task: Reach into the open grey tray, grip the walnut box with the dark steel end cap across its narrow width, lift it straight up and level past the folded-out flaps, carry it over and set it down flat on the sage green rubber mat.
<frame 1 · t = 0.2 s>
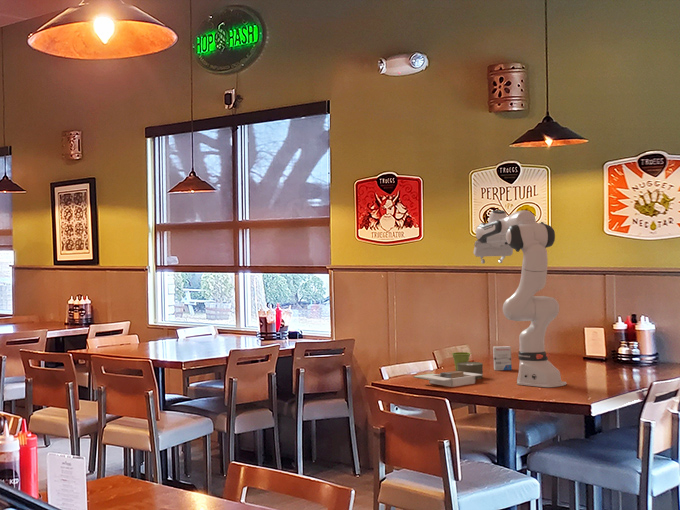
hand: (491, 262, 420), 54 cm above the table, tool tilted 30°, fingers open, 8 cm apart
grey tray: (452, 383, 368), on the table
plant pot: (461, 370, 409), on the table
ink box: (502, 370, 408), on the table
sage mat: (431, 377, 388), on the table
walnut box: (452, 377, 368), in the grey tray
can: (470, 378, 384), on the table
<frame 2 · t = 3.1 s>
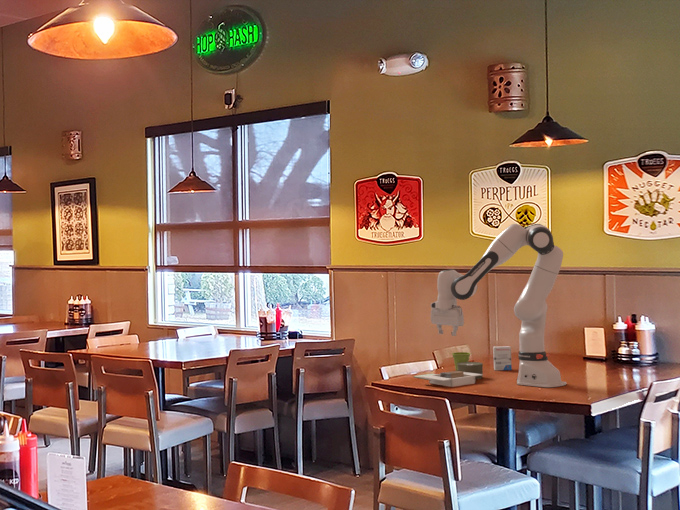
hand: (447, 334, 370), 22 cm above the table, tool pointing down, fingers open, 8 cm apart
nothing on the table moved.
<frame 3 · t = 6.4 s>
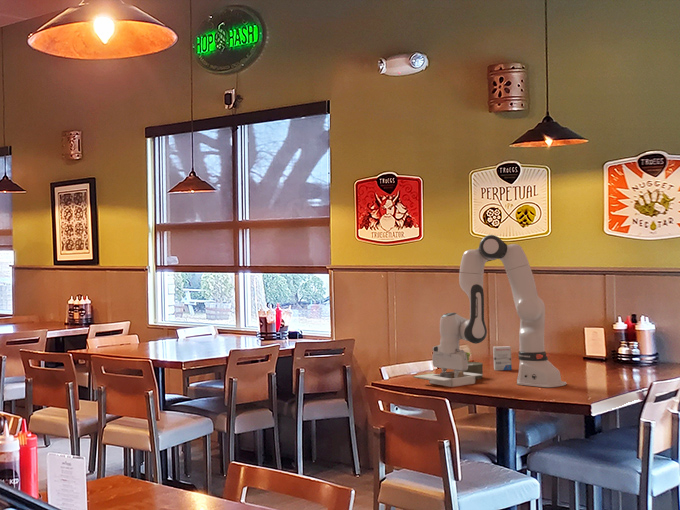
hand: (450, 378, 368), 2 cm above the table, tool pointing down, fingers closed on walnut box, 4 cm apart
walnut box: (452, 377, 368), in the grey tray, touching gripper
everything else where it was.
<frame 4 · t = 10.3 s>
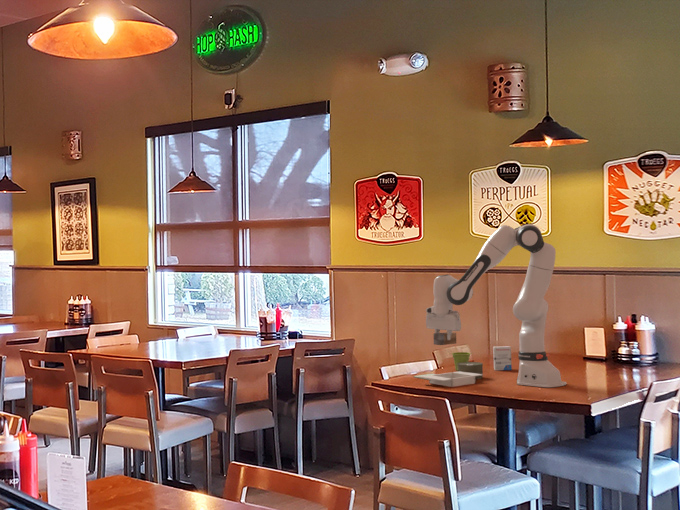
hand: (443, 339, 373), 20 cm above the table, tool pointing down, fingers closed on walnut box, 4 cm apart
walnut box: (445, 338, 373), point 20 cm above the table, touching gripper
everything else where it was.
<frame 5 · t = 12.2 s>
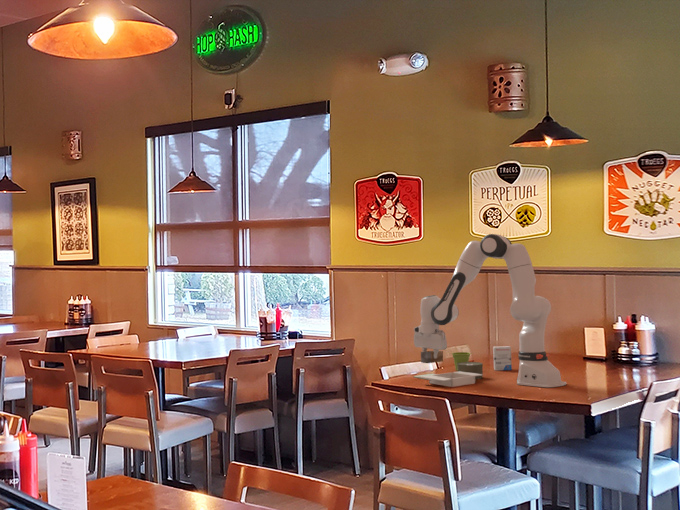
hand: (430, 357, 388), 9 cm above the table, tool pointing down, fingers closed on walnut box, 4 cm apart
walnut box: (431, 356, 388), point 10 cm above the table, touching gripper
everything else where it was.
when the fingers open (4 cm above the table, at t = 14.1 s): walnut box drops 1 cm, resting on sage mat.
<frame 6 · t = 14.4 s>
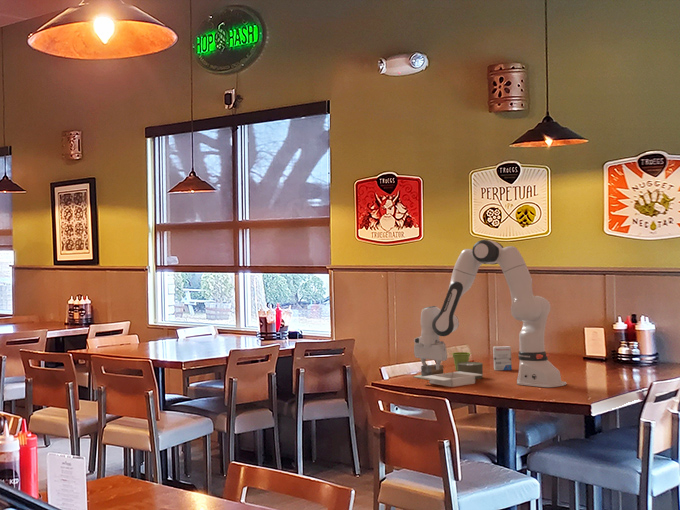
hand: (430, 368, 388), 4 cm above the table, tool pointing down, fingers open, 7 cm apart
walnut box: (432, 370, 388), on the sage mat, point 3 cm above the table
everything else where it was.
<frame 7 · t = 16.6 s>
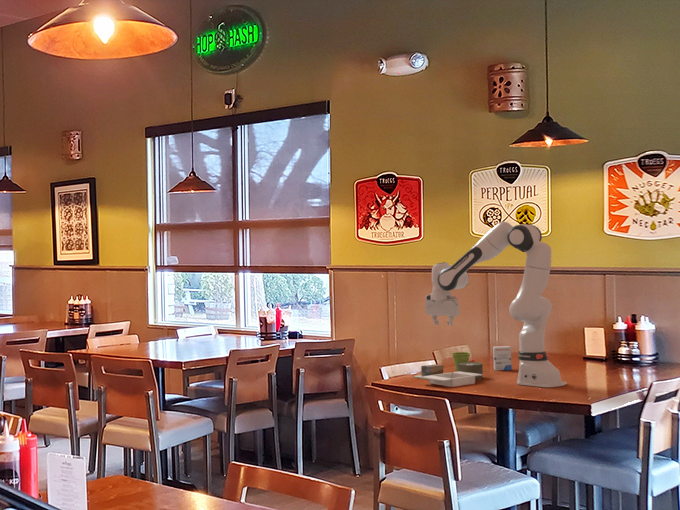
hand: (443, 324, 389), 25 cm above the table, tool pointing down, fingers open, 8 cm apart
nothing on the table moved.
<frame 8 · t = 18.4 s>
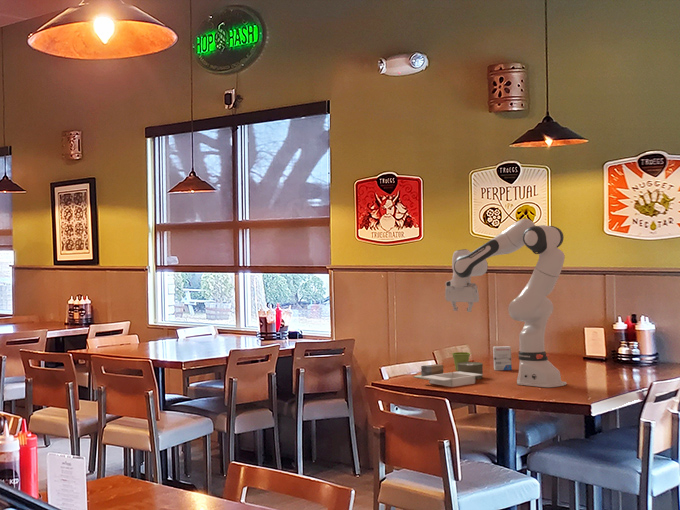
hand: (462, 311, 392), 31 cm above the table, tool pointing down, fingers open, 8 cm apart
nothing on the table moved.
at the end: walnut box inside the target area on the sage mat (1.0 cm from its centre), point 3.1 cm above the sage mat's base; walnut box tilted 0°; the gripper is holding nothing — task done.
